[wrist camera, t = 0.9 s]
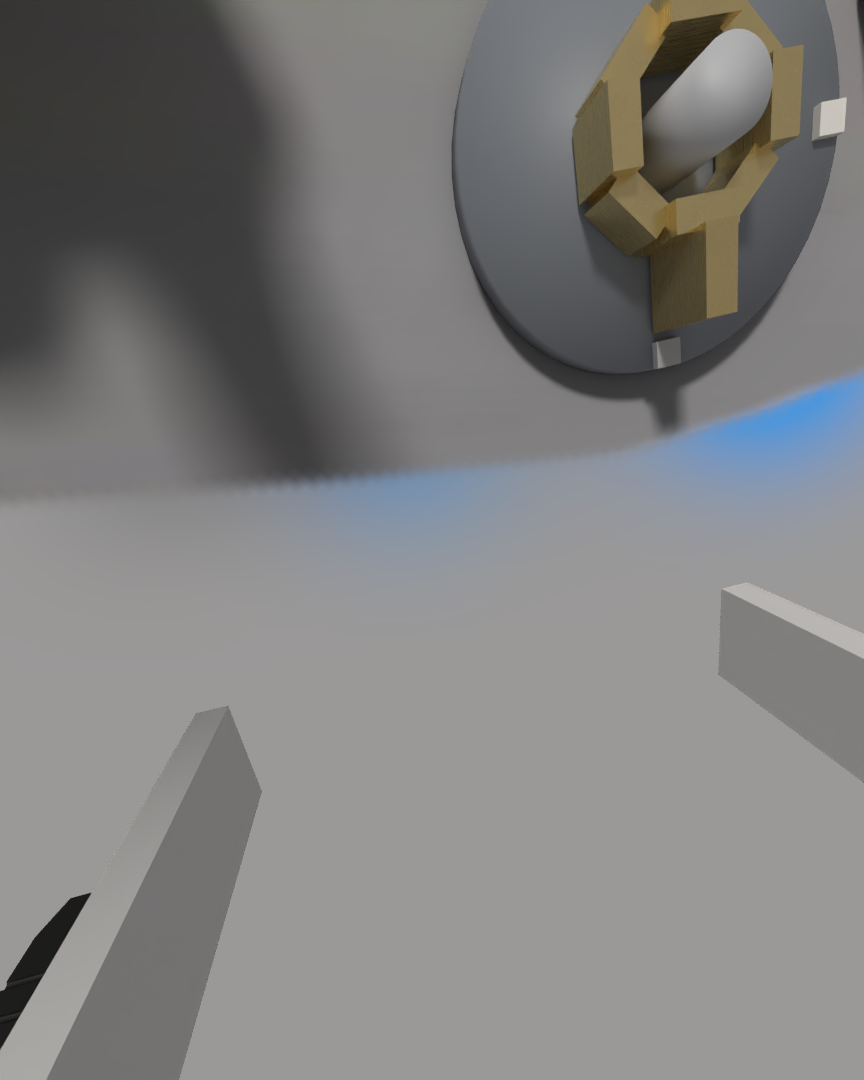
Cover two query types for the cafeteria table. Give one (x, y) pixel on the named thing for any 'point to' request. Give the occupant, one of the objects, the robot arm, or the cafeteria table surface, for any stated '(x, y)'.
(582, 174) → the ring nut
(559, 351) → the flange
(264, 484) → the cafeteria table surface
